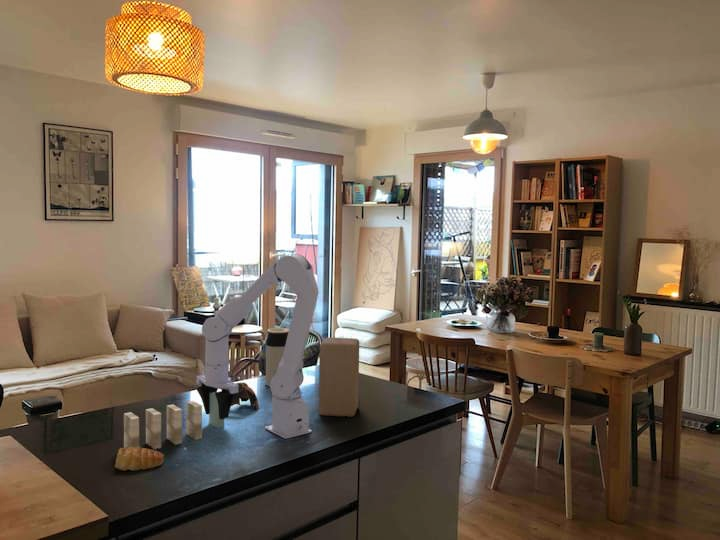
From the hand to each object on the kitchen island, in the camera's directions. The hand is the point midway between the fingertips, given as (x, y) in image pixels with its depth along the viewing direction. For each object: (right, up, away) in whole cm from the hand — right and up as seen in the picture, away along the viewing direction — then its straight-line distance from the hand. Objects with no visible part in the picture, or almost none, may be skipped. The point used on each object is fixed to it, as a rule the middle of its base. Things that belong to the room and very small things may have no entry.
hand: (216, 415), depth 150 cm
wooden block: (+31, -2, +13) cm, 34 cm away
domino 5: (0, -2, 0) cm, 2 cm away
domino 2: (-11, -3, -15) cm, 19 cm away
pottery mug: (+3, -2, +15) cm, 16 cm away
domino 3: (-7, -3, -11) cm, 14 cm away
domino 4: (-3, -3, -8) cm, 9 cm away
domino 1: (-15, -3, -18) cm, 23 cm away
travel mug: (+10, 0, +40) cm, 42 cm away
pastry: (-11, -4, -26) cm, 28 cm away
